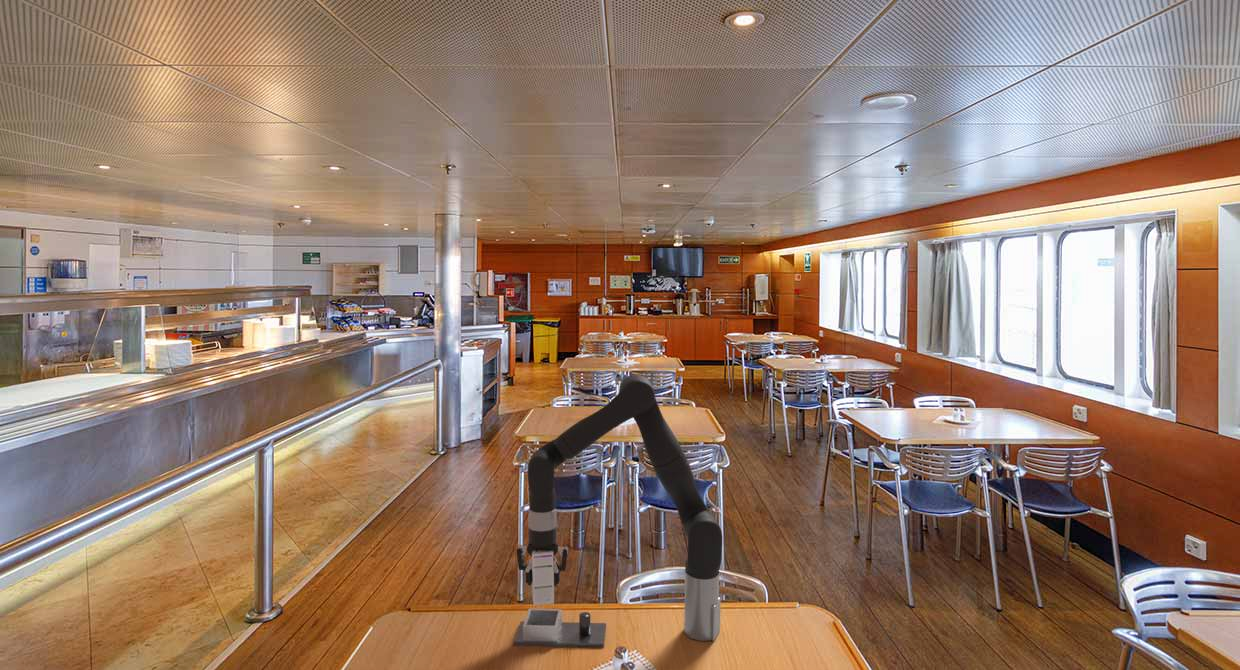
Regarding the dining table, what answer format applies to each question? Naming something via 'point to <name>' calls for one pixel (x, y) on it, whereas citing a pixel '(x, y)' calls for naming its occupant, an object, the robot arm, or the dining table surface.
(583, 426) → the robot arm
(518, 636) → the bolt plate
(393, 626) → the dining table surface
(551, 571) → the syrup box
